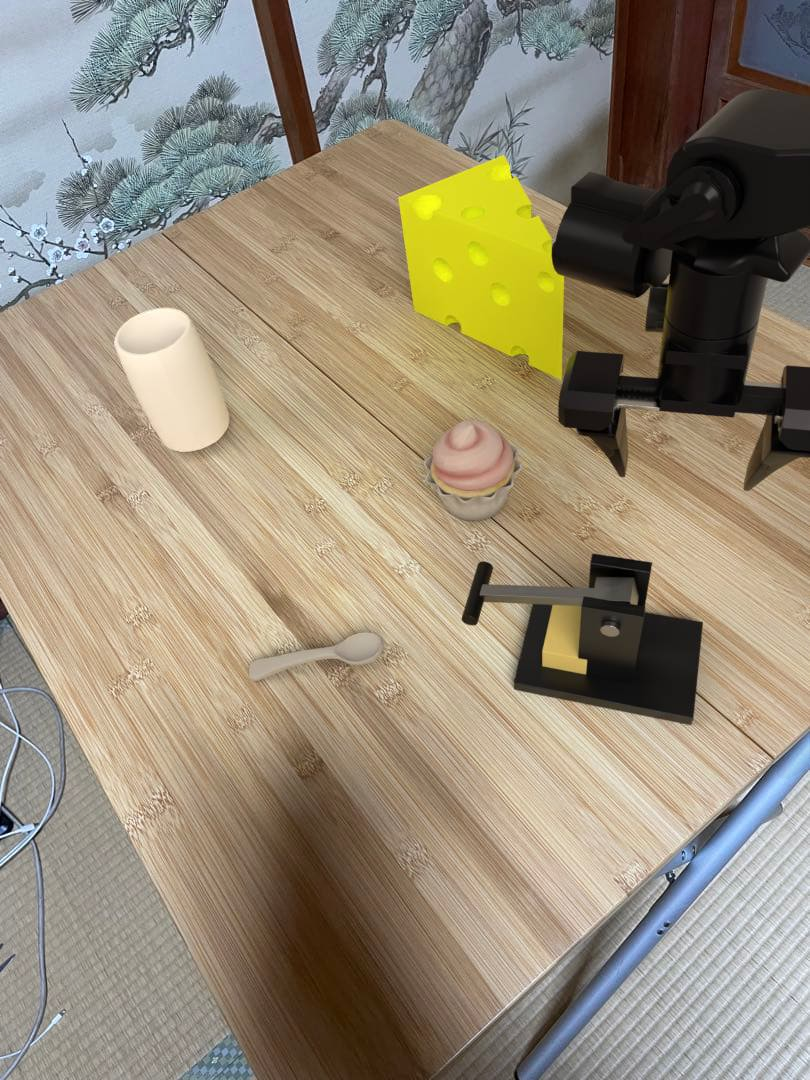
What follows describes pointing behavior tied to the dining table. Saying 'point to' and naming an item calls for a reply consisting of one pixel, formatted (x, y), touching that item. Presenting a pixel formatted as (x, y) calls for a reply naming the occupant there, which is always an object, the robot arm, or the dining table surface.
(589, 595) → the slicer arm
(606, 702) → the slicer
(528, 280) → the cheese wedge
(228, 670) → the dining table surface
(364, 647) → the spoon
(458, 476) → the cupcake
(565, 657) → the butter
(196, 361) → the cup
